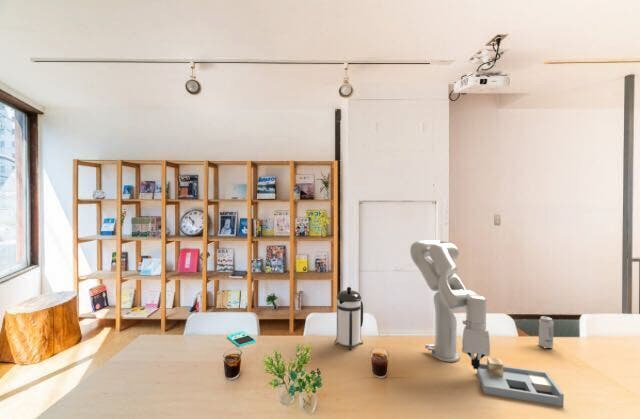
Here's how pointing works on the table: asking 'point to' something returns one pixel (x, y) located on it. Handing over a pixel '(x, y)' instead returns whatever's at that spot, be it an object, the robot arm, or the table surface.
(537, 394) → the board
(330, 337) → the table surface
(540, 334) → the energy drink can
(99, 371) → the table surface
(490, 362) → the maple cube
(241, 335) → the handheld game console
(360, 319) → the coffee press
